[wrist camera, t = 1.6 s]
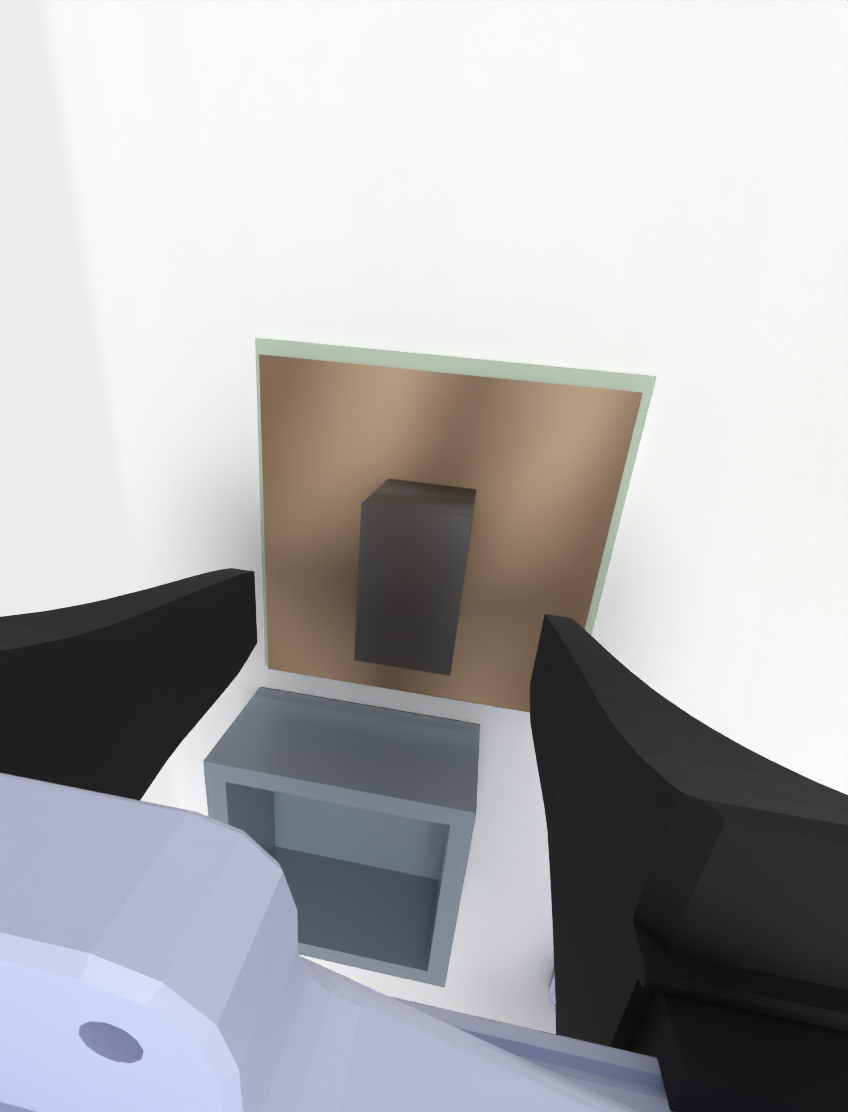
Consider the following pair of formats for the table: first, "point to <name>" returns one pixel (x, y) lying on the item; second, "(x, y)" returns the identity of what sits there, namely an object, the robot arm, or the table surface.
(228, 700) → the table surface
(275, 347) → the sage mat
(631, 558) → the table surface
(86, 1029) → the robot arm
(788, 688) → the table surface
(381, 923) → the slate dish
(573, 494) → the walnut lid
